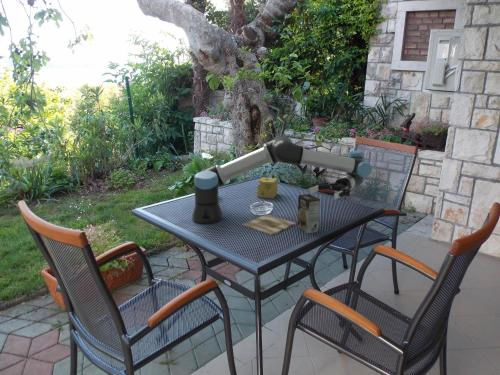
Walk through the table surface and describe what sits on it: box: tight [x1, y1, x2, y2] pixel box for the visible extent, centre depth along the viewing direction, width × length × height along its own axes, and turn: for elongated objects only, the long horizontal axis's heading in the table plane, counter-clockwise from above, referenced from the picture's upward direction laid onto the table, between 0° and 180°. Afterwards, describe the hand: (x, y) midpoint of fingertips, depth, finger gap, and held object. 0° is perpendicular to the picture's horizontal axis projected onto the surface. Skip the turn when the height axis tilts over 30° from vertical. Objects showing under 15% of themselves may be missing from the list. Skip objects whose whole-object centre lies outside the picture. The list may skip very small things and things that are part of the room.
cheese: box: [256, 176, 278, 199], centre depth 240 cm, size 10×11×10 cm
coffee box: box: [297, 193, 321, 234], centre depth 188 cm, size 9×6×16 cm
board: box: [242, 214, 296, 236], centre depth 196 cm, size 18×18×1 cm
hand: (322, 193), depth 193 cm, fingers open, 13 cm apart
